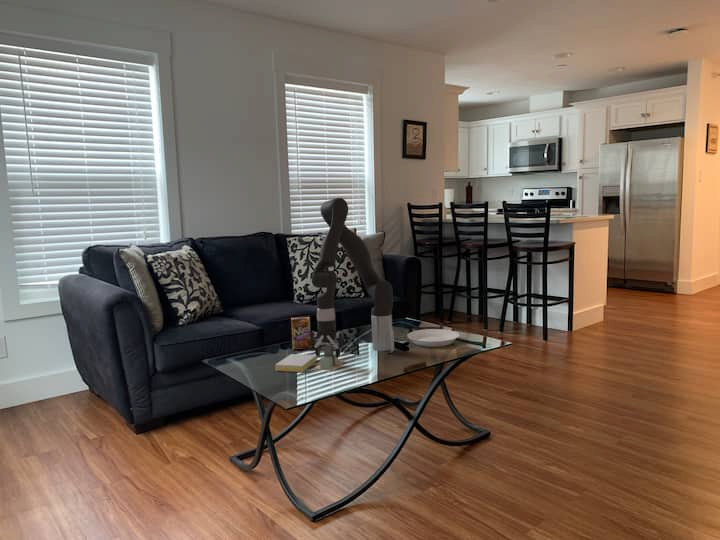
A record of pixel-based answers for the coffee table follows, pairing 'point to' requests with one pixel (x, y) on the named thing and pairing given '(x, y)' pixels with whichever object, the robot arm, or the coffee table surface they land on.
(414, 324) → the coffee table surface
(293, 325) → the candy box
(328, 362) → the block
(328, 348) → the tan boxy piece
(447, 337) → the white plate
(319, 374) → the coffee table surface
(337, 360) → the block
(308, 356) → the block
